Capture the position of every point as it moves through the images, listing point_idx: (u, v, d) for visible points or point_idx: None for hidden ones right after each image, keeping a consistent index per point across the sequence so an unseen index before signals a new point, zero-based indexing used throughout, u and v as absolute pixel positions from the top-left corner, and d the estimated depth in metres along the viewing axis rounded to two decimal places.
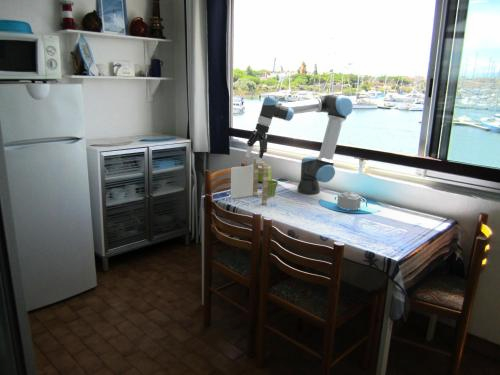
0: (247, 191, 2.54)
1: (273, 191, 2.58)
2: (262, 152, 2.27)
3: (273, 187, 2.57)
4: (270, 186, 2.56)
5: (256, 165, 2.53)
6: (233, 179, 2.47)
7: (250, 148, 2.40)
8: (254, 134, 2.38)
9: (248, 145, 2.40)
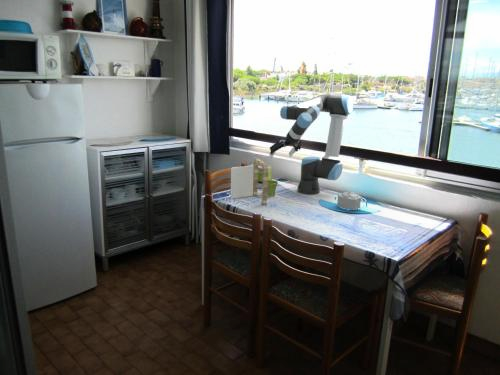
0: (247, 191, 2.54)
1: (273, 191, 2.58)
2: None
3: (273, 187, 2.57)
4: (270, 186, 2.56)
5: (256, 165, 2.53)
6: (233, 179, 2.47)
7: None
8: None
9: (274, 151, 2.36)
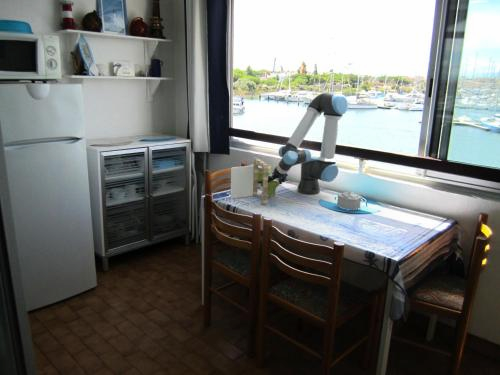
0: (247, 191, 2.54)
1: (273, 191, 2.58)
2: None
3: (273, 187, 2.57)
4: (270, 186, 2.56)
5: (256, 165, 2.53)
6: (233, 179, 2.47)
7: None
8: None
9: None
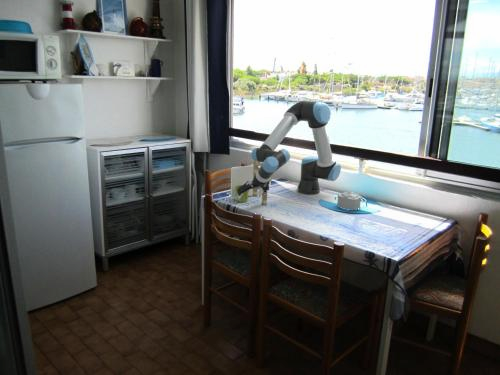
0: None
1: (245, 197, 2.45)
2: (265, 189, 2.36)
3: (245, 193, 2.43)
4: None
5: (256, 165, 2.53)
6: (233, 179, 2.47)
7: None
8: None
9: (241, 193, 2.29)
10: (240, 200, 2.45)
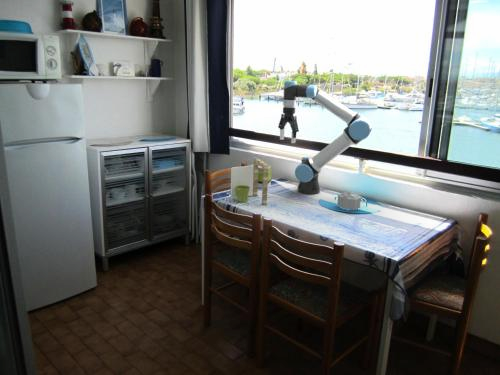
0: None
1: (245, 197, 2.45)
2: (295, 132, 2.45)
3: (245, 193, 2.43)
4: (241, 192, 2.42)
5: (256, 165, 2.53)
6: (233, 179, 2.47)
7: (282, 131, 2.59)
8: None
9: (280, 129, 2.58)
10: (240, 200, 2.45)
